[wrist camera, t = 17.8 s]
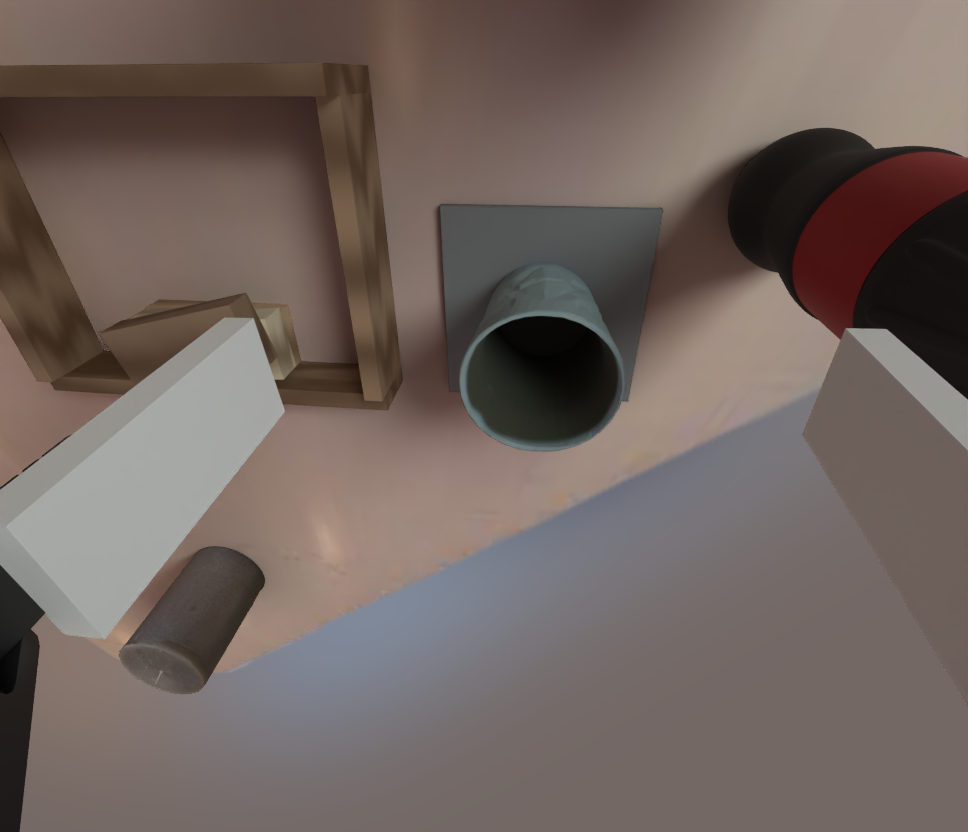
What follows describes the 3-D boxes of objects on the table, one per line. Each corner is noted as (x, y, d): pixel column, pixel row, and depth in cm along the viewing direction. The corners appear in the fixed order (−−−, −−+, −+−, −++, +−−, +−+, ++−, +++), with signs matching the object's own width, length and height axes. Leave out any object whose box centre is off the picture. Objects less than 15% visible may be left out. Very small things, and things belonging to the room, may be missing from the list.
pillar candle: (279, 581, 66) (215, 695, 54) (235, 602, 70) (166, 713, 58) (221, 535, 62) (138, 646, 50) (178, 560, 66) (91, 669, 54)
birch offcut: (147, 307, 43) (127, 319, 41) (279, 307, 42) (265, 319, 40) (172, 364, 46) (155, 377, 44) (296, 365, 45) (283, 379, 43)
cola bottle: (809, 268, 37) (1322, 650, 12) (697, 242, 37) (988, 576, 12) (882, 140, 32) (1962, 345, 8) (753, 110, 32) (1421, 221, 7)
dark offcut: (121, 320, 41) (98, 333, 39) (246, 293, 39) (228, 304, 37) (159, 378, 44) (140, 392, 42) (278, 355, 41) (264, 370, 39)
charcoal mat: (441, 203, 37) (439, 205, 37) (661, 208, 36) (663, 209, 35) (450, 388, 46) (449, 391, 46) (627, 397, 45) (627, 401, 44)
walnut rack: (-49, 69, 36) (-184, 67, 30) (367, 65, 33) (321, 62, 27) (96, 364, 50) (26, 408, 43) (402, 380, 47) (377, 430, 40)
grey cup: (456, 312, 41) (426, 386, 32) (546, 220, 37) (543, 273, 27) (542, 388, 45) (539, 477, 35) (634, 313, 40) (661, 391, 30)
